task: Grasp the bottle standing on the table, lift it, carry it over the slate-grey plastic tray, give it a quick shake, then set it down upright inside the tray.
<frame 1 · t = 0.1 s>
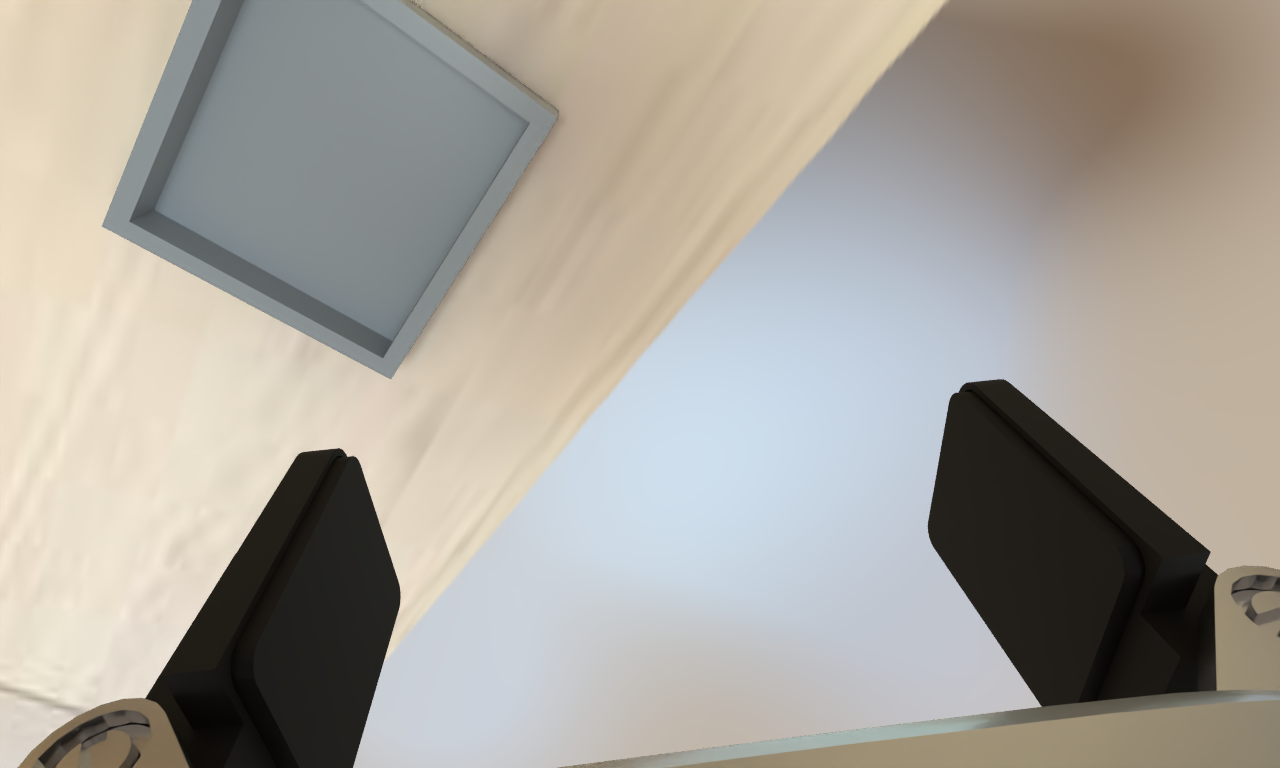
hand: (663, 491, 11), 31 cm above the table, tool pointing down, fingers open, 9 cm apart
tray: (345, 161, 37), on the table
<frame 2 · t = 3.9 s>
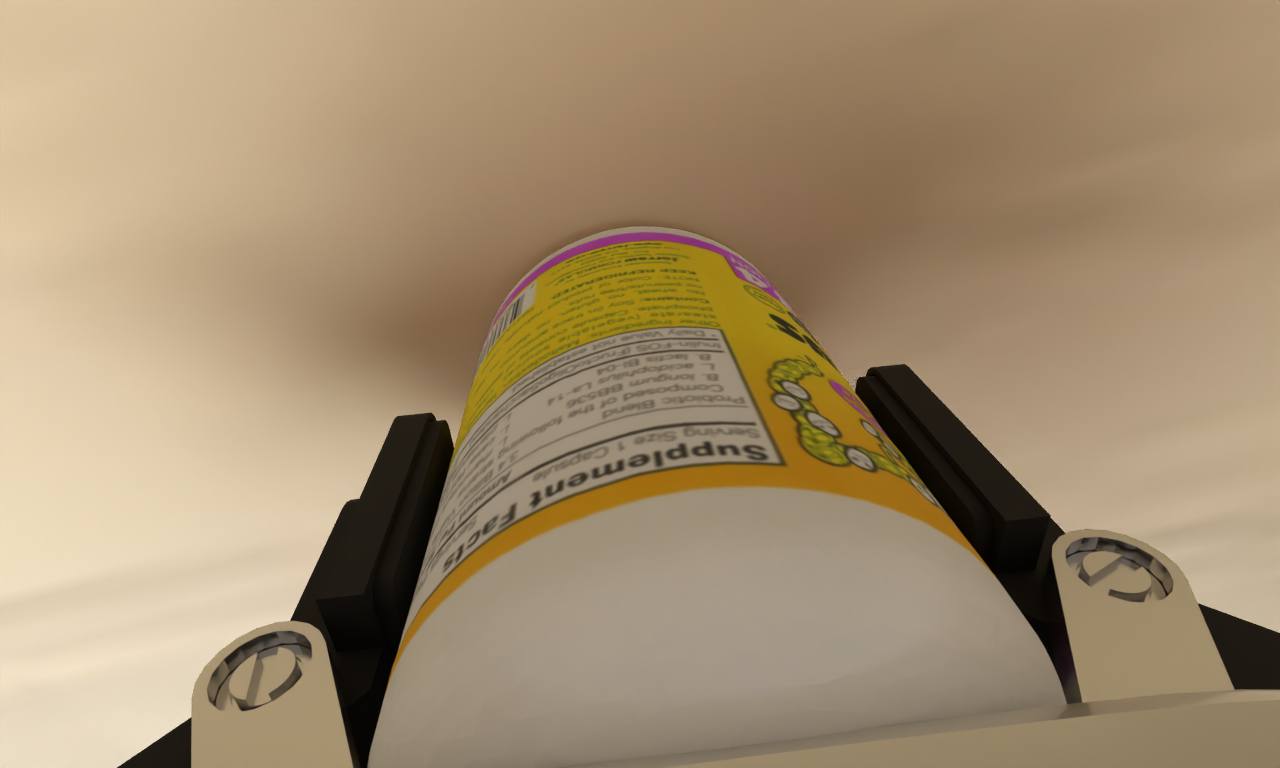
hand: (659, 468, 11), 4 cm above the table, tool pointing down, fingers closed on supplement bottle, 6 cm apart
supplement bottle: (639, 362, 15), on the table, touching gripper
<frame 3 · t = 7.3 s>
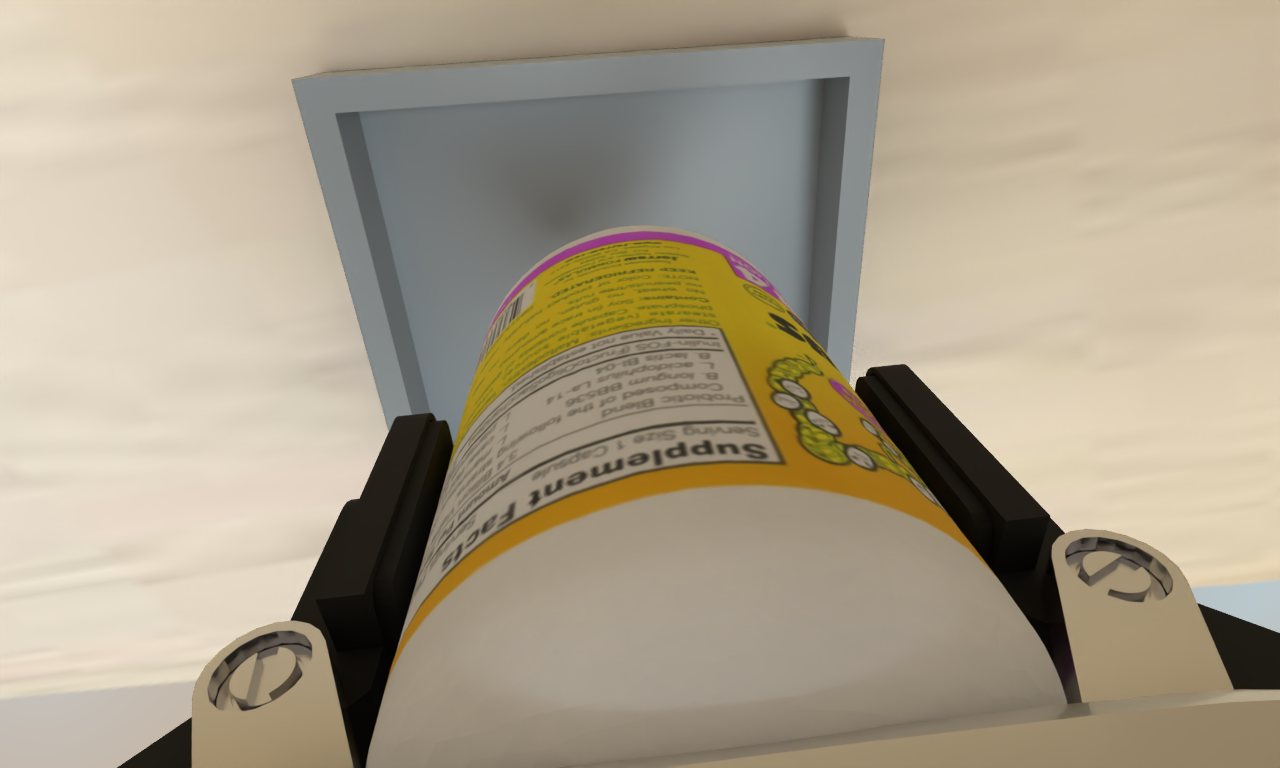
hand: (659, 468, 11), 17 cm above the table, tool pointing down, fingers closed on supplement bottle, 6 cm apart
tray: (610, 276, 27), on the table
supplement bottle: (638, 362, 15), point 13 cm above the table, touching gripper
when the fingers open (6 cm above the table, at t = 10.8 s): supplement bottle drops 1 cm, resting on tray.
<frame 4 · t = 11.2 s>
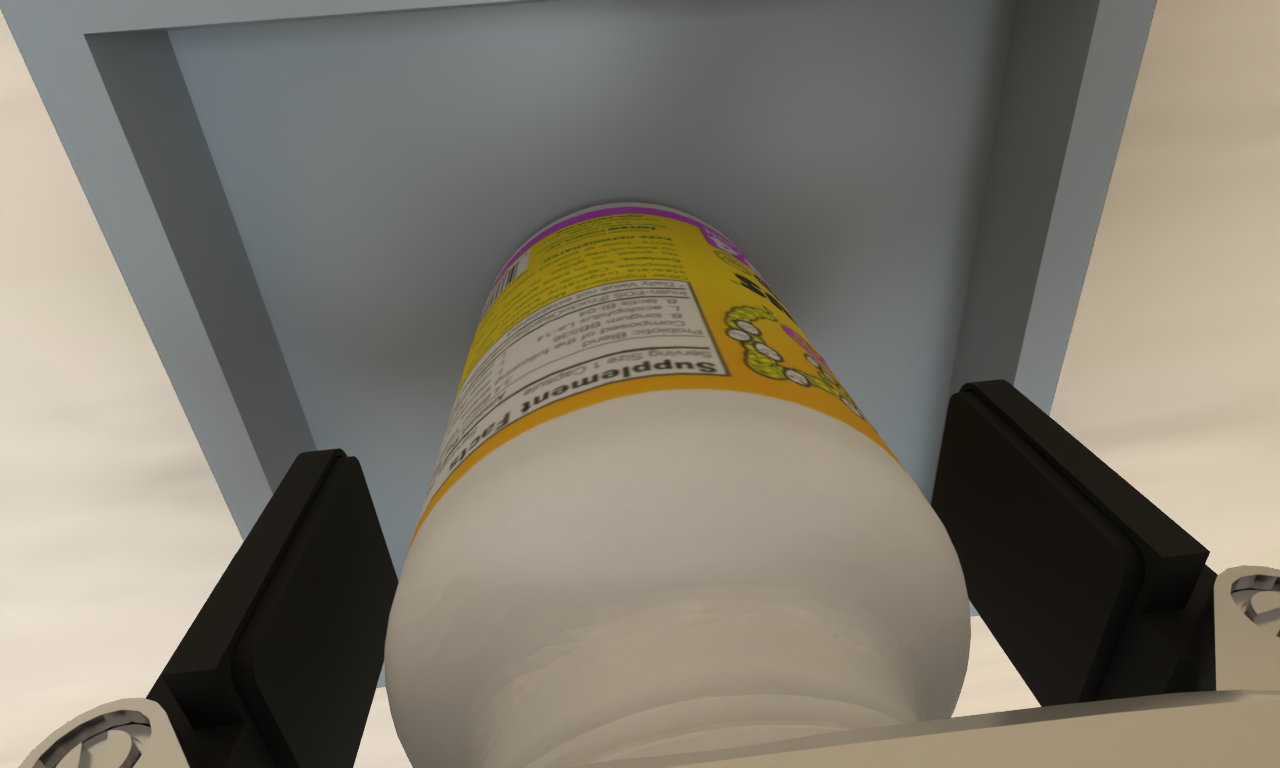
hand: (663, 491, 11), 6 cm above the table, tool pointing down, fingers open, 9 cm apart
tray: (632, 327, 17), on the table
supplement bottle: (625, 331, 16), resting on tray
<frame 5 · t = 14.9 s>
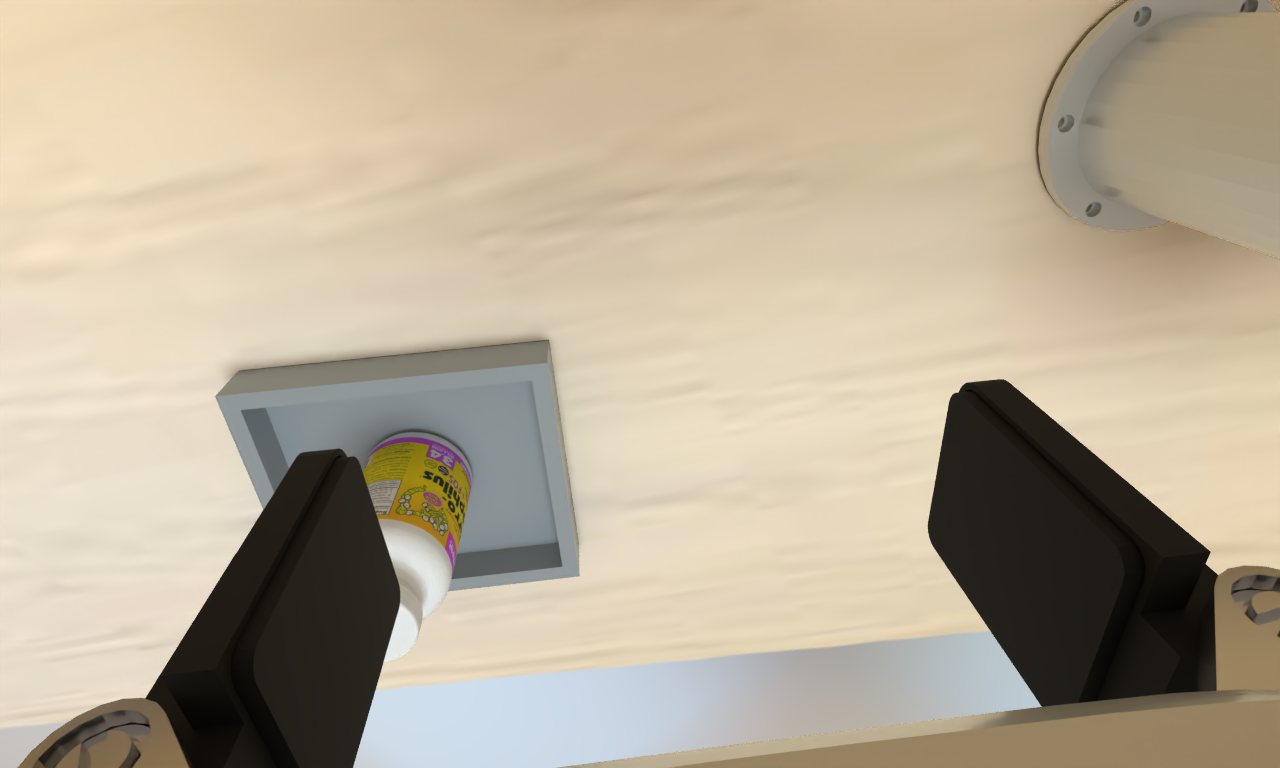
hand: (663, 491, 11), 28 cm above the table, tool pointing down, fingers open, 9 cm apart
tray: (425, 466, 44), on the table
supplement bottle: (421, 469, 43), resting on tray
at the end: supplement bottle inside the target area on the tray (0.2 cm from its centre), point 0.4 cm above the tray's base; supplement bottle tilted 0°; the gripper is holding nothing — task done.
